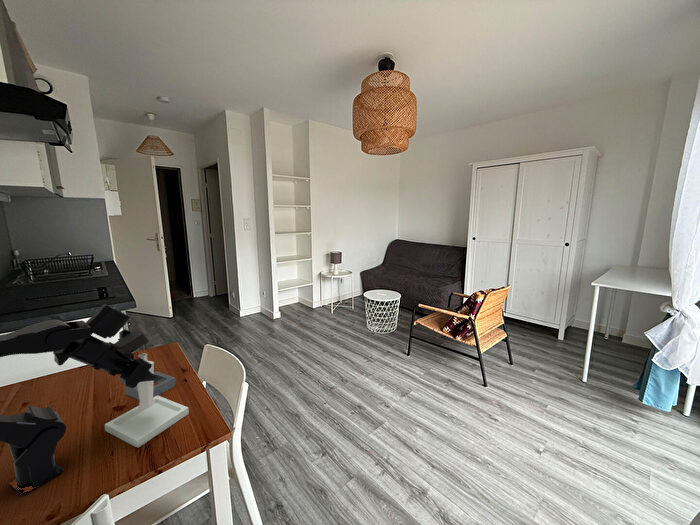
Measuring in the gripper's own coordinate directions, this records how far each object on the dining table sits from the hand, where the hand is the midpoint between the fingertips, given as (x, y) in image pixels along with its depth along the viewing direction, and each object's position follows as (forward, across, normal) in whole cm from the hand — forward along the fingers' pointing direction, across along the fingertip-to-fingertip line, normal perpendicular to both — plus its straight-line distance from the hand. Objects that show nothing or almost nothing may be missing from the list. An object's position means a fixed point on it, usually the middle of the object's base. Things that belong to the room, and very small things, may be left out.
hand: (150, 375), depth 78 cm
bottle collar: (+14, +16, +5) cm, 22 cm away
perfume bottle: (+5, 0, +7) cm, 9 cm away
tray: (+8, 0, +10) cm, 13 cm away
